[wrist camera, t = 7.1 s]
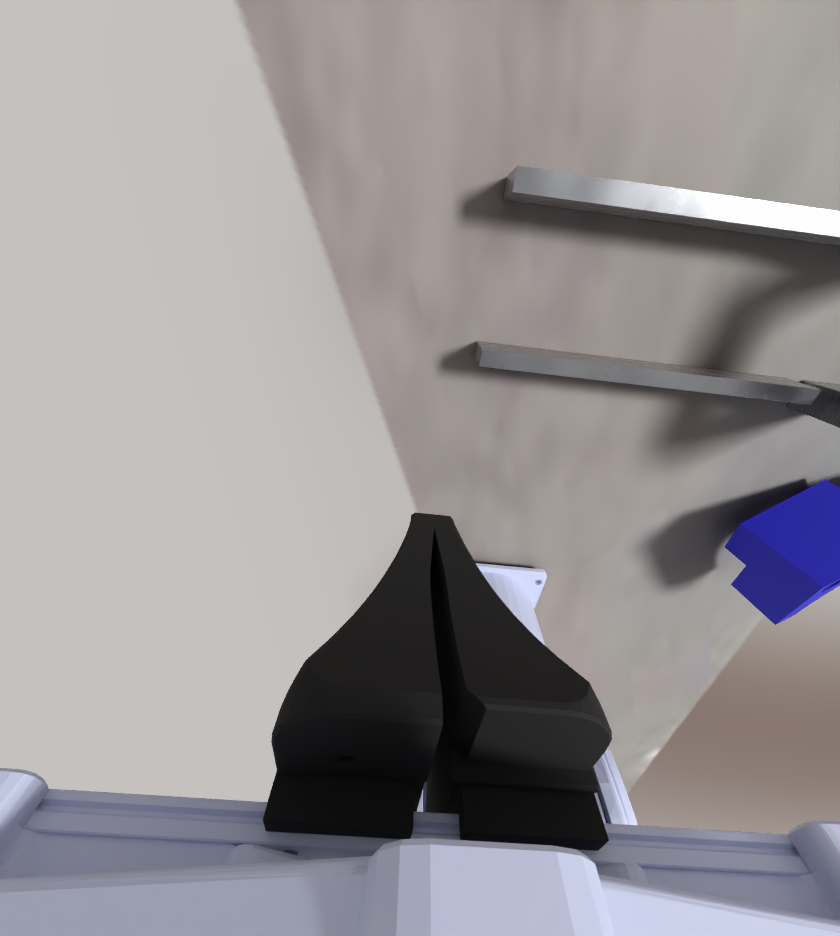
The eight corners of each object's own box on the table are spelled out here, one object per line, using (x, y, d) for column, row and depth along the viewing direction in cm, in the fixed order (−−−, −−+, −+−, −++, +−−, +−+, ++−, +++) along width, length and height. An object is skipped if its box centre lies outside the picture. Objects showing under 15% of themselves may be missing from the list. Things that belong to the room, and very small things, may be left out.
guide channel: (777, 392, 20) (810, 405, 18) (474, 356, 19) (478, 366, 17) (879, 228, 16) (935, 224, 14) (507, 176, 15) (517, 165, 14)
